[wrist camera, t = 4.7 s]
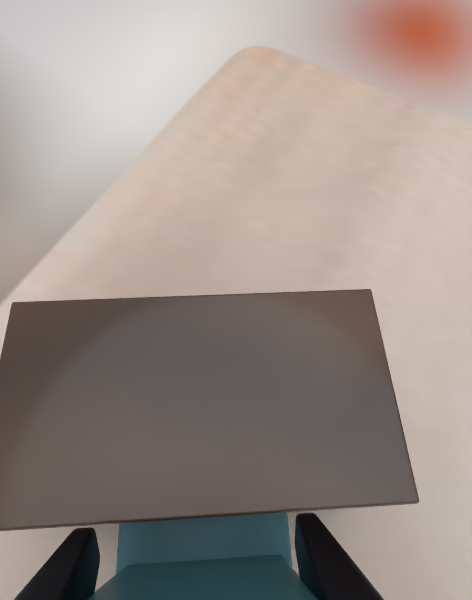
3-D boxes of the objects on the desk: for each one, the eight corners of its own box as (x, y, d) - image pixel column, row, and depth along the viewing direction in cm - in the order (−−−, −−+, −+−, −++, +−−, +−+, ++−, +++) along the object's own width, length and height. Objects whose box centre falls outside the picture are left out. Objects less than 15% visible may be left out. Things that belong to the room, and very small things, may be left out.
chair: (276, 561, 15) (555, 964, 2) (141, 571, 14) (-335, 1077, 2) (265, 422, 17) (379, 253, 4) (147, 428, 16) (-74, 267, 4)
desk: (346, 496, 16) (420, 503, 10) (64, 514, 15) (-38, 534, 9) (323, 351, 18) (371, 288, 12) (81, 362, 18) (10, 301, 12)
